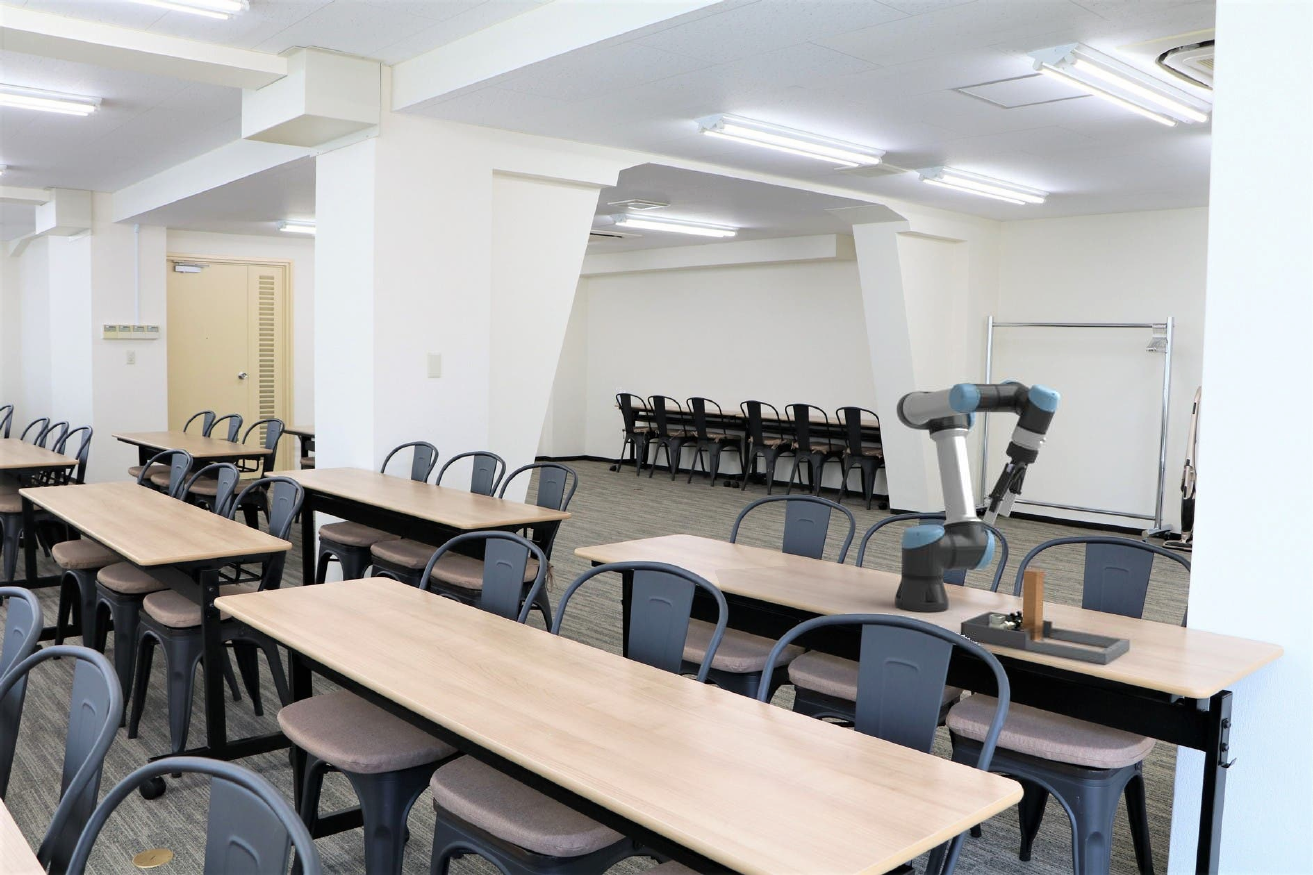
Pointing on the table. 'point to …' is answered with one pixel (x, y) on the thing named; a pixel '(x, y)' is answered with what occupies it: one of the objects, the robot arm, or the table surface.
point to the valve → (1000, 622)
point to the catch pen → (997, 632)
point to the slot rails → (1112, 651)
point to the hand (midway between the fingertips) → (995, 518)
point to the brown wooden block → (1033, 604)
